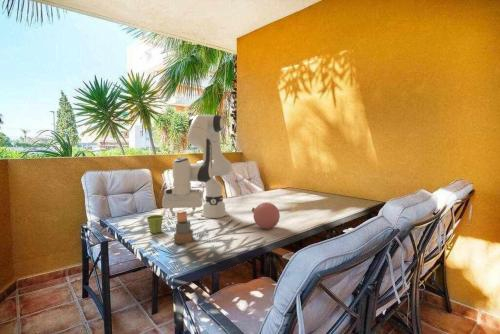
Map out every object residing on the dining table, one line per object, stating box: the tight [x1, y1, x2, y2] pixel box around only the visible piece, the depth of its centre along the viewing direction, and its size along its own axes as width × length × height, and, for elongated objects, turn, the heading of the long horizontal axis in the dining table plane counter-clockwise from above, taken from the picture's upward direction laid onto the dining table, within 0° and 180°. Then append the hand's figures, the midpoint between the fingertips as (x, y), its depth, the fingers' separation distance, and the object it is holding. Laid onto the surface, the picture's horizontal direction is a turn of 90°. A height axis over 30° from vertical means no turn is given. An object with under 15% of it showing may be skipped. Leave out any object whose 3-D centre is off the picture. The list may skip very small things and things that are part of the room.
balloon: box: [251, 202, 281, 230], centre depth 173 cm, size 15×20×15 cm
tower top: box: [175, 220, 191, 234], centre depth 151 cm, size 6×6×5 cm
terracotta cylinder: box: [176, 210, 188, 223], centre depth 151 cm, size 5×5×5 cm
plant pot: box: [146, 214, 164, 234], centre depth 167 cm, size 9×9×9 cm
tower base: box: [173, 228, 194, 244], centre depth 152 cm, size 8×8×5 cm
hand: (182, 215), depth 151 cm, fingers open, 8 cm apart
